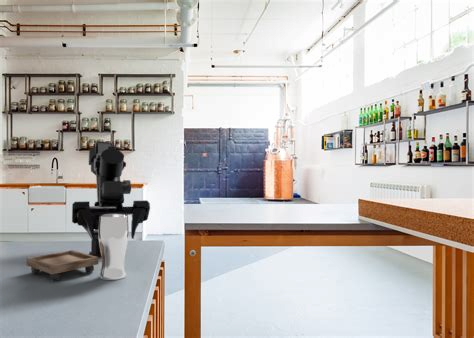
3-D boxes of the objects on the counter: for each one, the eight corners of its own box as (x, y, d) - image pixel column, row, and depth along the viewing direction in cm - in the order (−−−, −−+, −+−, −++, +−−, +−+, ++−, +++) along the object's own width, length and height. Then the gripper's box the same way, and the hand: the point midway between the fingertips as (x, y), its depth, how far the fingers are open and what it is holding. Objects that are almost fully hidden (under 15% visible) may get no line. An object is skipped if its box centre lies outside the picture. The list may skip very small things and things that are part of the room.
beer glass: (133, 274, 98) (134, 214, 98) (116, 282, 92) (117, 217, 92) (109, 271, 101) (110, 212, 100) (91, 278, 94) (92, 215, 94)
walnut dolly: (71, 264, 107) (72, 250, 107) (98, 272, 100) (98, 257, 100) (26, 273, 97) (26, 258, 97) (52, 283, 90) (52, 266, 90)
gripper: (72, 168, 97) (72, 219, 87) (149, 169, 104) (157, 216, 94) (72, 198, 104) (71, 248, 94) (143, 197, 112) (150, 243, 102)
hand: (113, 238), depth 96 cm, fingers open, 9 cm apart
